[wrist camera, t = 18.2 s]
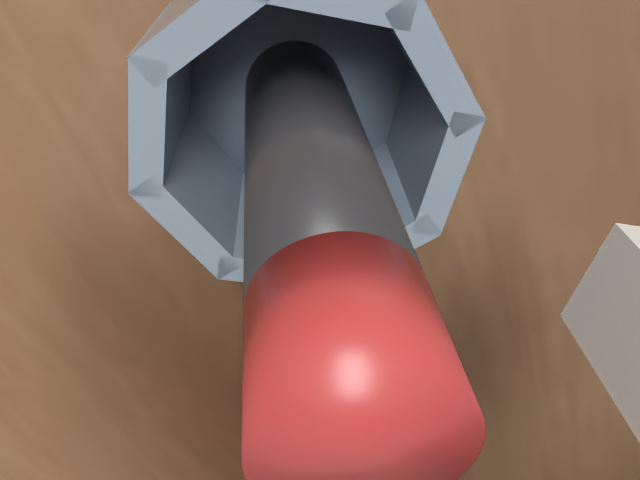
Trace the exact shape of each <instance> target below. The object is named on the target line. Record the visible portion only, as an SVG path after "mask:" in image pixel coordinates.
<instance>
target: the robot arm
mask: <svg viewBox="0 0 640 480" xmlns="http://www.w3.org/2000/svg"><path fill="white" fill-rule="evenodd" d="M560 316H561V317H562V319H563V321H564V322H565V324H566V325H567V327H568V329H569V330H570V332H571V334H572V335H573V337H574V338H575V340H576V342H577V343H578V345H579V346H580V348H581V350H582V351H583V353H584V354H585V356H586V358H587V359H588V361H589V363H590V364H591V366H592V367H593V369H594V371H595V372H596V374H597V375H598V377H599V379H600V380H601V382H602V383H603V385H604V387H605V388H606V390H607V391H608V393H609V395H610V396H611V398H612V400H613V401H614V403H615V404H616V406H617V408H618V409H619V411H620V412H621V414H622V416H623V417H624V419H625V420H626V422H627V424H628V425H629V427H630V429H631V430H632V432H633V433H634V435H635V437H636V438H637V440H638V441H639V443H640V226H633V225H626V224H619V223H615V224H614V226H613V227H612V229H611V231H610V232H609V234H608V236H607V237H606V239H605V241H604V243H603V244H602V246H601V248H600V249H599V251H598V253H597V254H596V256H595V258H594V259H593V261H592V263H591V264H590V266H589V268H588V269H587V271H586V273H585V274H584V276H583V278H582V279H581V281H580V283H579V284H578V286H577V288H576V289H575V291H574V293H573V294H572V296H571V298H570V299H569V301H568V303H567V304H566V306H565V308H564V309H563V311H562V313H561V314H560Z"/></svg>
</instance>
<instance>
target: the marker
mask: <svg viewBox="0 0 640 480" xmlns="http://www.w3.org/2000/svg"><path fill="white" fill-rule="evenodd" d="M485 433H486V429H485V421H484V417H483V414H482V412H481V409H480V407H479V404H478V402H477V400H476V397H475V395H474V392H473V390H472V388H471V385H470V383H469V380H468V378H467V376H466V373H465V371H464V368H463V366H462V364H461V361H460V359H459V356H458V354H457V351H456V349H455V347H454V344H453V342H452V339H451V337H450V335H449V332H448V330H447V327H446V325H445V323H444V320H443V318H442V315H441V313H440V311H439V308H438V306H437V303H436V301H435V299H434V296H433V294H432V291H431V289H430V287H429V284H428V282H427V279H426V277H425V274H424V272H423V270H422V267H421V265H420V262H419V260H418V258H417V255H416V253H415V250H414V248H413V246H412V243H411V241H410V238H409V236H408V234H407V231H406V229H405V226H404V224H403V222H402V219H401V217H400V214H399V212H398V210H397V207H396V205H395V202H394V200H393V197H392V195H391V193H390V190H389V188H388V185H387V183H386V181H385V178H384V176H383V173H382V171H381V169H380V166H379V164H378V161H377V159H376V157H375V154H374V152H373V149H372V147H371V145H370V142H369V140H368V137H367V135H366V132H365V130H364V128H363V125H362V123H361V120H360V118H359V116H358V113H357V111H356V108H355V106H354V104H353V101H352V99H351V96H350V94H349V92H348V89H347V87H346V84H345V82H344V80H343V77H342V75H341V72H340V70H339V68H338V66H337V64H336V63H335V61H334V60H333V58H332V57H331V56H330V55H329V54H328V53H327V52H326V51H324V50H323V49H321V48H320V47H318V46H316V45H314V44H311V43H308V42H304V41H285V42H281V43H278V44H276V45H273V46H271V47H270V48H268V49H266V50H265V51H264V52H262V53H261V54H260V55H259V56H258V57H257V58H256V60H255V61H254V62H253V64H252V66H251V68H250V70H249V72H248V75H247V79H246V85H245V169H244V271H243V373H242V469H243V472H244V475H245V478H246V480H457V479H458V478H459V477H460V476H461V475H462V474H463V473H464V472H465V471H466V470H467V469H468V468H469V467H470V466H471V465H472V463H473V462H474V461H475V460H476V458H477V456H478V454H479V453H480V451H481V449H482V446H483V443H484V439H485Z"/></svg>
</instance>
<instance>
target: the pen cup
mask: <svg viewBox="0 0 640 480" xmlns="http://www.w3.org/2000/svg"><path fill="white" fill-rule="evenodd" d="M285 41H304V42H308V43H311V44H314V45H316V46H318V47H320V48H321V49H323V50H324V51H326V52H327V53H328V54H329V55H330V56H331V57H332V58H333V60H334V61H335V63H336V64H337V66H338V68H339V70H340V72H341V75H342V77H343V80H344V82H345V84H346V87H347V89H348V92H349V94H350V96H351V99H352V101H353V104H354V106H355V108H356V111H357V113H358V116H359V118H360V120H361V123H362V125H363V128H364V130H365V132H366V135H367V137H368V140H369V142H370V145H371V147H372V149H373V152H374V154H375V157H376V159H377V161H378V164H379V166H380V169H381V171H382V173H383V176H384V178H385V181H386V183H387V185H388V188H389V190H390V193H391V195H392V197H393V200H394V202H395V205H396V207H397V210H398V212H399V214H400V217H401V219H402V222H403V224H404V226H405V229H406V231H407V234H408V236H409V238H410V241H411V243H412V246H413V248H414V249H416V248H418V247H420V246H422V245H423V244H425V243H427V242H429V241H431V240H432V239H434V238H436V237H438V236H440V235H442V234H441V233H442V230H443V227H444V225H445V222H446V220H447V217H448V215H449V212H450V209H451V207H452V204H453V202H454V199H455V197H456V194H457V191H458V189H459V186H460V184H461V181H462V178H463V176H464V173H465V171H466V168H467V166H468V163H469V160H470V158H471V155H472V153H473V150H474V148H475V145H476V142H477V140H478V137H479V135H480V132H481V129H482V127H483V124H484V122H485V120H486V116H485V115H484V114H483V112H482V110H481V108H480V106H479V104H478V102H477V101H476V99H475V97H474V95H473V93H472V91H471V89H470V87H469V85H468V83H467V81H466V79H465V77H464V75H463V73H462V72H461V70H460V68H459V66H458V64H457V62H456V60H455V58H454V56H453V54H452V52H451V50H450V48H449V46H448V45H447V43H446V41H445V39H444V37H443V35H442V33H441V31H440V29H439V27H438V25H437V23H436V21H435V19H434V17H433V16H432V14H431V12H430V10H429V8H428V6H427V4H426V2H425V0H173V1H172V2H170V3H169V4H168V5H167V7H166V8H165V9H164V10H163V12H162V13H161V14H160V15H159V17H158V18H157V19H156V21H155V22H154V23H153V24H152V26H151V27H150V28H149V29H148V31H147V32H146V33H145V35H144V36H143V37H142V38H141V40H140V41H139V42H138V44H137V45H136V46H135V47H134V49H133V50H132V51H131V52H130V54H129V55H128V57H127V59H128V157H129V191H128V194H129V195H130V196H131V197H132V198H134V199H135V200H136V201H137V202H138V203H139V204H140V205H141V206H142V207H143V208H144V209H145V210H146V211H147V212H148V213H149V214H150V215H151V216H152V217H153V218H154V219H155V220H157V221H158V222H159V223H160V224H161V225H162V226H163V227H164V228H165V229H166V230H167V231H168V232H169V233H170V234H171V235H172V236H173V237H174V238H175V239H176V240H177V241H178V242H180V243H181V244H182V245H183V246H184V247H185V248H186V249H187V250H188V251H189V252H190V253H191V254H192V255H193V256H194V257H195V258H196V259H197V260H198V261H199V262H200V263H201V264H202V265H204V266H205V267H206V268H207V269H208V270H209V271H210V272H211V273H212V274H213V275H214V276H215V277H216V278H217V279H218V280H219V279H220V280H229V281H238V282H243V271H244V169H245V85H246V79H247V75H248V72H249V70H250V68H251V66H252V64H253V62H254V61H255V60H256V58H257V57H258V56H259V55H260V54H261V53H262V52H264V51H265V50H266V49H268V48H270V47H271V46H273V45H276V44H278V43H281V42H285Z"/></svg>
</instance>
